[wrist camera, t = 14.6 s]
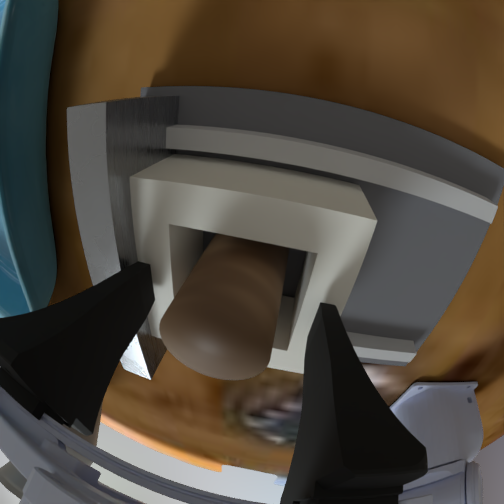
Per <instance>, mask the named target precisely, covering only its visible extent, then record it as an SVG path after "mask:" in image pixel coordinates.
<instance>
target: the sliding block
mask: <svg viewBox="0 0 504 504" xmlns="http://www.w3.org/2000/svg"><path fill="white" fill-rule="evenodd" d="M130 194H131V207H132V218H133V228H134V236H135V244H136V252H137V259H138V261H139V262H143V263H147V264H150V266H151V274H152V281H153V288H154V295H155V301H154V304H153V306H152V308H151V310H150V312H149V314H148V321H149V325H150V330H151V334H152V336H154V337H157V338H160V339H161V336H160V331H159V324H160V321H161V318H162V317H163V315H164V313H165V312H166V310H167V308H168V307H169V305H170V304H171V302H172V300H173V299H174V297H175V296H176V294H177V292H178V291H179V289H180V288H181V286H182V285H183V283H184V281H185V280H186V278H187V277H188V275H189V274H190V272H191V271H192V269H193V267H194V266H195V264H196V263H197V261H198V260H199V258H200V257H201V255H202V254H203V230H204V231H209V232H214V233H219V234H224V235H229V236H234V237H239V238H244V239H249V240H254V241H259V242H264V243H269V244H274V245H279V246H284V247H289V248H294V249H299V250H304V251H307V252H306V256H305V260H304V264H303V268H302V272H301V275H300V279H299V283H298V286H297V290H296V294H295V297H294V298H292V297H288V296H283V295H282V298H281V303H280V309H279V315H278V321H277V326H276V332H275V337H274V342H273V348H272V353H271V358H270V362H269V364H268V366H267V367H270V368H275V369H280V370H285V371H291V372H297V373H303V374H304V357H305V350H306V343H307V336H308V334H309V331H310V328H311V326H312V323H313V321H314V318H315V315H316V313H317V310H318V307H319V304H320V302H322V303H327V304H333V305H335V306H336V307H337V309H338V312H339V315H340V316H341V314H342V312H343V309H344V307H345V305H346V303H347V300H348V298H349V295H350V293H351V291H352V288H353V286H354V283H355V281H356V278H357V276H358V273H359V271H360V268H361V266H362V263H363V260H364V258H365V255H366V252H367V250H368V247H369V244H370V241H371V238H372V236H373V233H374V230H375V227H376V224H377V219H376V217H375V215H374V213H373V211H372V209H371V207H370V205H369V203H368V201H367V199H366V197H365V195H364V193H363V191H362V189H361V187H360V186H359V185H357V184H353V183H349V182H345V181H341V180H336V179H332V178H327V177H323V176H318V175H314V174H309V173H304V172H299V171H294V170H288V169H283V168H277V167H272V166H266V165H260V164H253V163H247V162H240V161H233V160H226V159H218V158H210V157H201V156H191V155H181V154H174V155H172V156H170V157H168V158H166V159H163V160H161V161H159V162H157V163H155V164H153V165H151V166H149V167H148V168H146V169H144V170H142V171H140V172H138V173H136V174H134V175H132V176H131V177H130Z"/></svg>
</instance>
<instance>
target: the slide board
mask: <svg viewBox="0 0 504 504" xmlns="http://www.w3.org/2000/svg"><path fill="white" fill-rule="evenodd" d="M146 96H180V100H179V114H178V125H174V126H170V127H167V128H166V148H169V149H177V154H181V155H191V156H201V157H210V158H218V159H226V160H233V161H240V162H247V163H253V164H260V165H266V166H272V167H277V168H283V169H288V170H294V171H299V172H304V173H309V174H314V175H318V176H323V177H327V178H332V179H336V180H341V181H345V182H349V183H353V184H357V185H359V186H360V187H361V189H362V191H363V193H364V195H365V197H366V199H367V201H368V203H369V205H370V207H371V209H372V211H373V213H374V215H375V217H376V219H377V224H376V227H375V230H374V233H373V236H372V238H371V241H370V244H369V247H368V250H367V252H366V255H365V258H364V260H363V263H362V266H361V268H360V271H359V273H358V276H357V278H356V281H355V283H354V286H353V288H352V291H351V293H350V295H349V298H348V300H347V303H346V305H345V307H344V309H343V312H342V314H341V316H340V317H341V320H342V322H343V325H344V327H345V330H346V332H347V334H348V337H349V339H350V341H351V343H352V345H353V348H354V350H355V352H356V354H357V356H358V358H359V360H360V362H367V363H376V364H386V365H397V366H406V365H407V363H408V362H410V361H411V360H412V359H413V357H414V356H415V355H416V354H417V353H416V352H417V351H418V349H419V348H420V347H421V345H422V344H423V343H424V341H425V340H426V338H427V337H428V336H429V334H430V333H431V331H432V330H433V328H434V327H435V326H436V324H437V323H438V321H439V320H440V318H441V316H442V315H443V313H444V312H445V310H446V309H447V307H448V305H449V304H450V302H451V301H452V299H453V297H454V296H455V294H456V292H457V290H458V289H459V287H460V285H461V283H462V282H463V280H464V278H465V276H466V274H467V272H468V270H469V268H470V267H471V265H472V263H473V261H474V259H475V256H476V254H477V252H478V250H479V248H480V246H481V244H482V241H483V239H484V237H485V235H486V232H487V230H488V228H489V225H490V223H491V224H492V221H493V219H494V216H495V214H496V211H497V208H498V206H497V204H498V201H499V198H500V195H501V192H502V189H503V186H504V168H502V167H500V166H499V165H497V164H495V163H493V162H491V161H490V160H488V159H486V158H484V157H482V156H480V155H478V154H477V153H475V152H473V151H471V150H469V149H467V148H465V147H462V146H460V145H458V144H456V143H454V142H452V141H449V140H447V139H445V138H443V137H440V136H438V135H436V134H433V133H431V132H428V131H426V130H423V129H421V128H418V127H415V126H413V125H410V124H407V123H404V122H401V121H398V120H395V119H392V118H389V117H386V116H383V115H380V114H376V113H373V112H370V111H366V110H362V109H359V108H355V107H351V106H347V105H343V104H339V103H335V102H330V101H325V100H321V99H316V98H310V97H305V96H299V95H293V94H287V93H280V92H272V91H264V90H255V89H244V88H231V87H212V86H164V87H145V88H141V97H146ZM215 234H216V233H214V232H209V231H204V230H203V252H204V251H205V249H206V248H207V246H208V245H209V243H210V242H211V240H212V239H213V237H214V236H215ZM306 252H307V251H304V250H299V249H294V248H289V255H288V261H287V267H286V274H285V280H284V286H283V292H282V295H283V296H288V297H292V298H294V297H295V294H296V290H297V286H298V283H299V279H300V275H301V272H302V268H303V264H304V260H305V256H306Z"/></svg>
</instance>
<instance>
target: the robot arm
mask: <svg viewBox="0 0 504 504" xmlns="http://www.w3.org/2000/svg"><path fill="white" fill-rule="evenodd" d="M154 301H155V295H154V288H153V281H152V274H151V266H150V264H147V263H143V262H139V261H138V262H136V263H134V264H132V265H130V266H128V267H126V268H125V269H123V270H121V271H119V272H118V273H116V274H114V275H112V276H110V277H109V278H107V279H105V280H103V281H102V282H100V283H98V284H96V285H94V286H92V287H90V288H89V289H87V290H85V291H83V292H81V293H79V294H77V295H75V296H73V297H71V298H68V299H66V300H64V301H61V302H59V303H56V304H54V305H51V306H48V307H45V308H42V309H39V310H36V311H32V312H29V313H25V314H20V315H16V316H10V317H3V318H0V449H1V451H2V452H3V453H4V454H5V455H6V457H7V458H8V459H9V460H10V461H11V463H12V464H13V465H14V466H15V467H16V468H17V470H18V471H19V472H20V473H21V474H22V475H23V476H24V477H25V478H26V479H27V482H26V484H25V486H24V488H23V490H22V491H23V493H24V494H23V496H22V499H21V501H20V503H19V504H145V503H143V502H140V501H138V500H136V499H133V498H131V497H129V496H127V495H125V494H122V493H120V492H118V491H116V490H114V489H112V488H110V487H108V486H106V485H104V484H102V483H101V482H99V481H98V479H99V477H100V475H101V474H100V472H99V471H97V470H95V469H94V468H92V467H90V466H89V465H87V464H85V463H84V462H82V461H80V460H79V459H77V458H76V457H74V456H72V455H71V454H69V453H68V452H67V451H66V446H65V445H67V446H68V447H70V448H71V449H73V450H74V451H76V452H78V453H79V454H81V455H82V456H84V457H86V458H87V459H89V460H91V461H92V462H94V463H96V464H98V465H99V466H101V467H103V468H105V469H107V470H109V471H111V472H113V473H114V474H116V475H118V476H120V477H123V478H125V479H127V480H129V481H131V482H133V483H136V484H138V485H140V486H143V487H145V488H147V489H150V490H152V491H154V492H157V493H160V494H162V495H165V496H168V497H171V498H173V499H177V500H179V501H182V502H186V503H189V504H265V503H258V502H252V501H246V500H241V499H235V498H230V497H227V496H222V495H218V494H214V493H210V492H206V491H203V490H199V489H196V488H192V487H189V486H186V485H183V484H180V483H177V482H174V481H171V480H168V479H165V478H163V477H160V476H158V475H155V474H153V473H150V472H147V471H145V470H143V469H140V468H138V467H136V466H134V465H131V464H129V463H127V462H125V461H123V460H121V459H119V458H117V457H115V456H113V455H111V454H109V453H107V452H105V451H103V450H102V449H100V448H98V447H96V446H94V445H93V444H91V443H89V442H87V441H86V440H84V439H82V438H81V437H79V436H78V435H76V434H74V433H73V432H71V431H70V430H68V429H67V428H65V427H64V426H62V425H63V424H64V425H66V426H67V427H69V428H71V427H72V428H74V429H75V430H77V431H79V432H80V433H82V434H84V435H85V436H89V435H92V434H93V432H94V428H95V424H96V420H97V417H98V413H99V410H100V407H101V404H102V401H103V398H104V395H105V392H106V390H107V387H108V385H109V383H110V380H111V378H112V376H113V373H114V371H115V369H116V367H117V365H118V363H119V361H120V359H121V357H122V356H123V354H124V352H125V351H126V349H127V348H128V346H129V345H130V343H131V342H132V340H133V338H134V337H135V335H136V334H137V332H138V331H139V329H140V328H141V326H142V325H143V323H144V321H145V320H146V318H147V316H148V314H149V312H150V310H151V308H152V306H153V304H154ZM477 386H478V383H477V382H416V383H414V384H412V385H411V386H410V387H409V389H408V390H407V391H406V392H405V393H404V394H403V395H402V396H401V397H400V398H399V399H398V400H397V401H396V402H395V403H393V404H392V405H391V406H390V407H388V405H387V404H386V403H385V401H384V400H383V399H382V397H381V396H380V394H379V393H378V391H377V390H376V388H375V387H374V385H373V383H372V382H371V380H370V378H369V377H368V375H367V373H366V371H365V369H364V368H363V366H362V364H361V362H360V360H359V358H358V356H357V354H356V352H355V350H354V348H353V345H352V343H351V341H350V339H349V337H348V334H347V332H346V330H345V327H344V325H343V322H342V320H341V317H340V315H339V312H338V309H337V307H336V306H335V305H333V304H327V303H322V302H320V304H319V307H318V310H317V313H316V315H315V318H314V321H313V323H312V326H311V328H310V331H309V334H308V336H307V343H306V350H305V357H304V380H303V402H302V413H301V419H300V425H299V430H298V435H297V440H296V445H295V450H294V454H293V458H292V462H291V466H290V470H289V474H288V477H287V481H286V484H285V488H284V491H283V494H282V497H281V501H280V504H482V503H483V483H482V474H481V469H480V465H479V464H478V463H475V462H474V461H472V460H473V459H474V458H475V456H476V455H477V454H478V453H479V451H480V448H481V446H482V442H483V427H482V422H481V418H480V413H479V409H478V405H477V401H476V397H475V393H474V389H475V388H476V387H477ZM471 461H472V462H471ZM469 462H470V463H469Z"/></svg>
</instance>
